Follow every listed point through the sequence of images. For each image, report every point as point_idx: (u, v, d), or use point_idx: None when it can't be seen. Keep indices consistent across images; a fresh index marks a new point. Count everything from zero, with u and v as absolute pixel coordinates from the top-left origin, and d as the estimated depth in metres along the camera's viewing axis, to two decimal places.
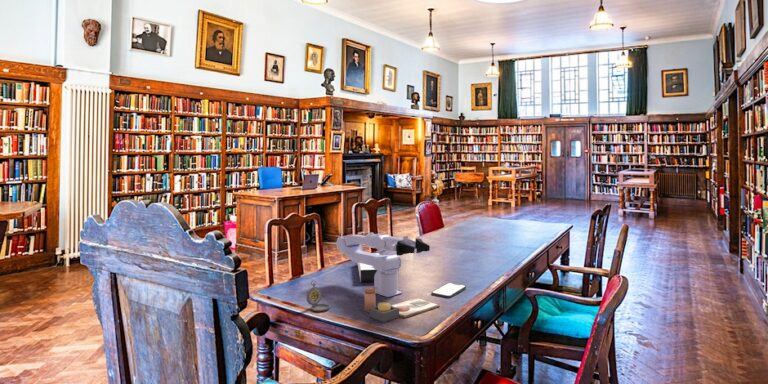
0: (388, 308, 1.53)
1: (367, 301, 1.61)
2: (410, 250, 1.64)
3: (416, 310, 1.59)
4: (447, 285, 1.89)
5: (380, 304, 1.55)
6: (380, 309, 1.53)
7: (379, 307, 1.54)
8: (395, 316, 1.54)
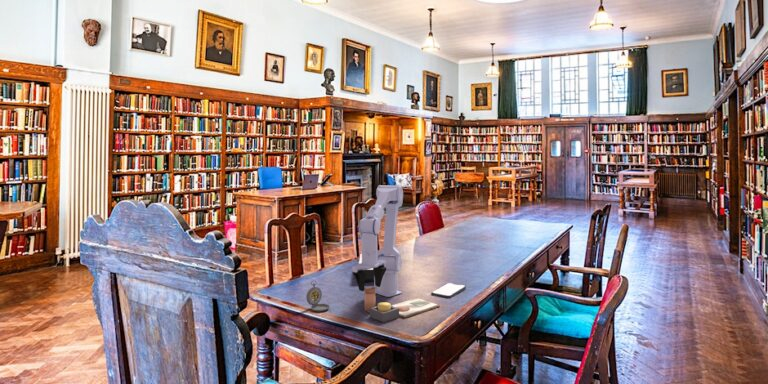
0: (388, 308, 1.53)
1: (367, 301, 1.61)
2: (360, 286, 1.59)
3: (416, 310, 1.59)
4: (447, 285, 1.89)
5: (380, 304, 1.55)
6: (380, 309, 1.53)
7: (379, 307, 1.54)
8: (395, 316, 1.54)
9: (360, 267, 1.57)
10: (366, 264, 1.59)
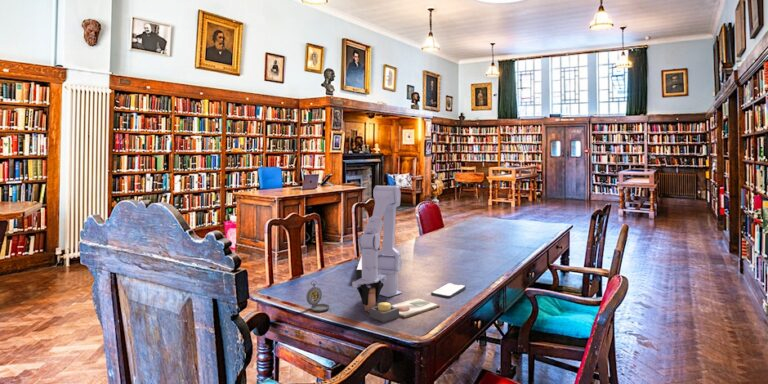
0: (388, 308, 1.53)
1: None
2: (363, 301, 1.61)
3: (416, 310, 1.59)
4: (447, 285, 1.89)
5: (380, 304, 1.55)
6: (380, 309, 1.53)
7: (379, 307, 1.54)
8: (395, 316, 1.54)
9: (360, 282, 1.57)
10: (366, 279, 1.59)
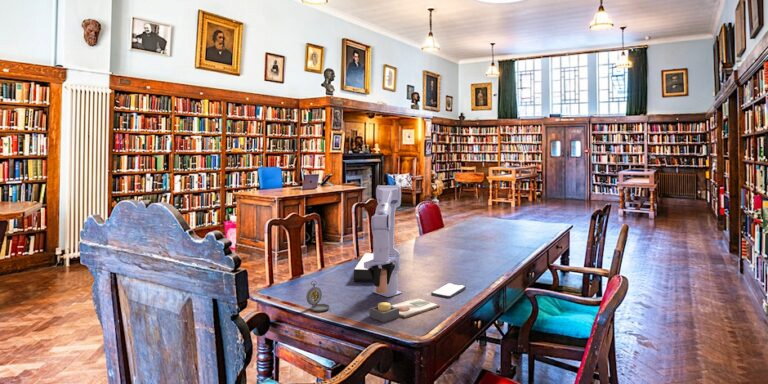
0: (388, 308, 1.53)
1: None
2: (375, 282, 1.60)
3: (416, 310, 1.59)
4: (447, 285, 1.89)
5: (380, 304, 1.55)
6: (380, 309, 1.53)
7: (379, 307, 1.54)
8: (395, 316, 1.54)
9: (372, 263, 1.56)
10: (378, 260, 1.58)
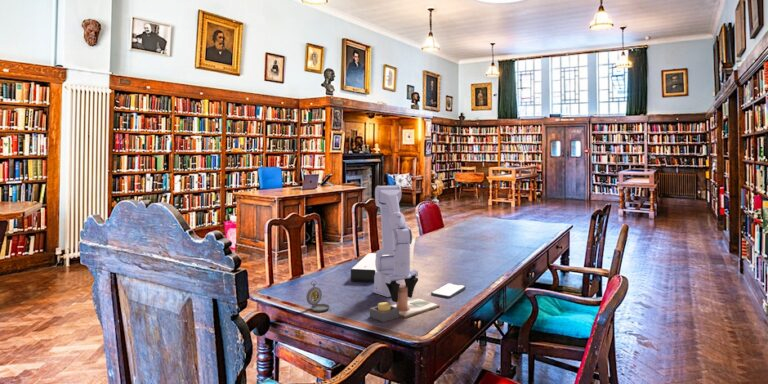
0: (388, 308, 1.53)
1: (400, 300, 1.59)
2: (393, 297, 1.58)
3: (416, 310, 1.59)
4: (447, 285, 1.89)
5: (380, 304, 1.55)
6: (380, 309, 1.53)
7: (379, 307, 1.54)
8: (395, 316, 1.54)
9: (393, 278, 1.55)
10: (399, 275, 1.57)
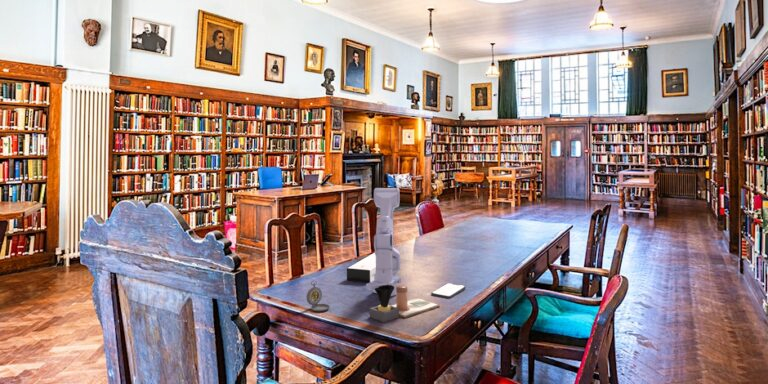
0: (388, 310, 1.53)
1: (400, 300, 1.59)
2: (382, 303, 1.55)
3: (416, 310, 1.59)
4: (447, 285, 1.88)
5: (380, 306, 1.55)
6: None
7: (379, 309, 1.54)
8: (395, 316, 1.54)
9: (375, 285, 1.50)
10: (381, 281, 1.52)
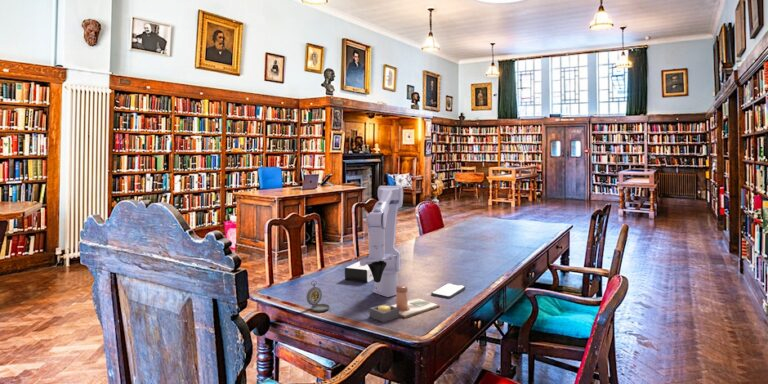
0: None
1: (400, 300, 1.59)
2: (375, 278, 1.63)
3: (416, 310, 1.59)
4: (446, 285, 1.88)
5: (380, 307, 1.55)
6: None
7: (379, 310, 1.54)
8: (395, 316, 1.54)
9: (368, 261, 1.58)
10: (374, 258, 1.60)
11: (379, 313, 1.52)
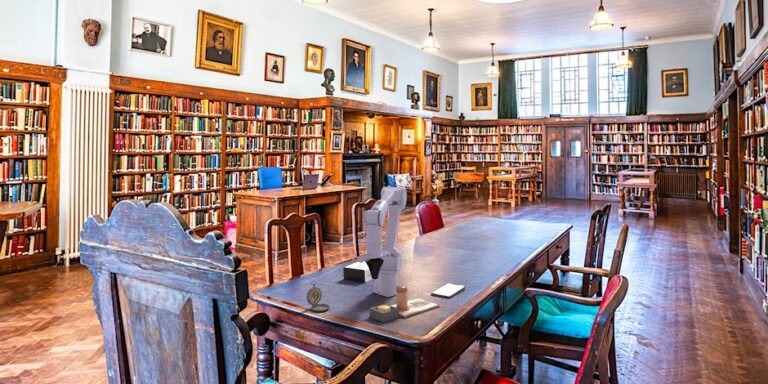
0: None
1: (400, 300, 1.59)
2: (372, 275, 1.66)
3: (416, 310, 1.59)
4: (446, 285, 1.88)
5: (380, 307, 1.55)
6: None
7: (379, 310, 1.54)
8: (395, 316, 1.54)
9: (365, 257, 1.61)
10: (371, 255, 1.63)
11: (379, 313, 1.52)
